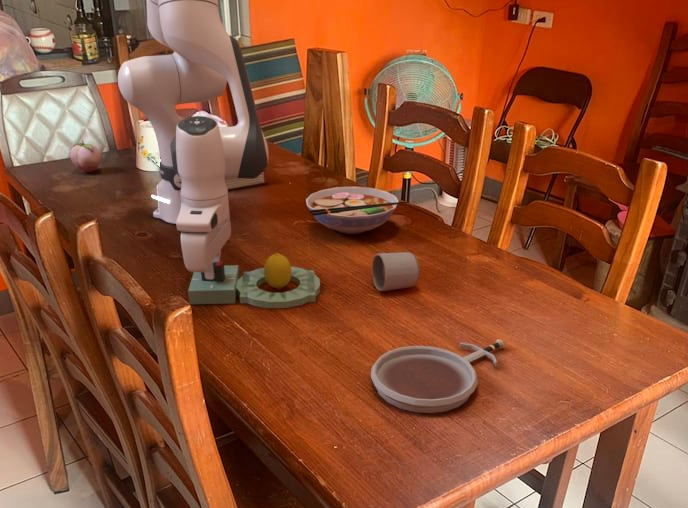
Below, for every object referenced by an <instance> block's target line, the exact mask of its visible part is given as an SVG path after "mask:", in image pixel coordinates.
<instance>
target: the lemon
mask: <svg viewBox="0 0 688 508" xmlns="http://www.w3.org/2000/svg"><path fill="white" fill-rule="evenodd" d="M291 267H292V266H291V263H290V261H289V259H288V258H287V257H286V256H285V255H283V254H280V253H279V252H276V253H274V254H272V255H270V256H269V257H268V258H267V259H266V260H265V263H264V267H263V268H264V275H265V279H266V281H267V282H266V283H267V284H268V285H269V286H270V287H271V288H274V289H276V290H278V291H279V290H281V289H282V288H284V287H286V286H287V285H288V284H289V283H290V282H291V281H290V279H291Z"/></svg>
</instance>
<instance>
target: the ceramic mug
mask: <svg viewBox="0 0 688 508" xmlns="http://www.w3.org/2000/svg"><path fill="white" fill-rule="evenodd" d="M420 266H421V265H420V262H419V259H418V257H417V256H416V255H415V254H414V253H413V252H405V251H404V252H403V251H402V252H401V251H400V252H380V253H379V252H378V253H376V254H375V255H374V257H373V259H372V262H371V274H372V275H371V276H372V281H373V285H374V286H375V288H376V290H378V291H379V292H387V291H393V290H400V289H409V288H412V287H414V286H416V285H417V284H418V282H419V280H420V277H421V267H420Z"/></svg>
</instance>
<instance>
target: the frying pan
mask: <svg viewBox="0 0 688 508" xmlns="http://www.w3.org/2000/svg"><path fill="white" fill-rule="evenodd" d="M504 346H505V342H504V341H503V339H499V338H498V339H496V340H495V342H494V343H492V344H489V345H488V346H486V347H484V348H482V347H479V346H477V345H476V344H472V343H467V342H461V341H459V348H465V349H470V350H474V352H472V353H469V354H466V355H465V356H461V355H460V354H457V353H456V352H453V351H451V350H448V349H444V348H440V347H435V346H431V345H430V346H428V345H427V346H426V345H410V346H401V347H398V348H394V349H392V350H389V351H387V352H386V353H383V354H382V355H380V356H379V357H378V359H377V360H376V361H375V362H374V364H373V365H372V367H371V370H370V371H371V372H370V378H371V380H372V383H373V385H374V387H375V389H376V391H377V393H378V395H379V396H380V397H381V398H382V399H383V400H384V401H386V403H388V404H390V405H392V406H394V407H397V408H398V409H400V410H406V411H409V412H413V413H421V414H423V413H424V414H436V413H443V412H444V413H445V412H448V411H451V410H454V409H457V408H459V407H460V406H463V404H464V403H466V402H467V401H468V400H469V398H470V397H471V395H472V394H473V393H474V392H475V390H476V388H477V386H478V383H479V382H478V374H477V372H476V370H475V368H474V367H473V365H472V364H471V362H473V361H475V360H477V359H479V358H482V357H487V358H488V359H491V360H492V362H493V365H494V366H495V367H497V366H498V360H497V358H496V356H495V354H493V353H492V351H495V350H497V349H501V350H502V349H503V348H504Z"/></svg>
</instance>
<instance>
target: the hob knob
mask: <svg viewBox="0 0 688 508" xmlns="http://www.w3.org/2000/svg"><path fill="white" fill-rule="evenodd" d="M224 266H225V263H224V262H223V261H220V262H213V268H215V273H216V275H215V277H214V279H206V278H205V273H204V272H201V277H202V281H222V282H223V281H224V279H225V270H224Z"/></svg>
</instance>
